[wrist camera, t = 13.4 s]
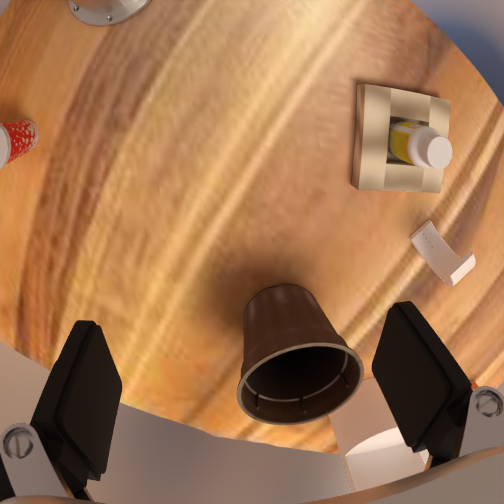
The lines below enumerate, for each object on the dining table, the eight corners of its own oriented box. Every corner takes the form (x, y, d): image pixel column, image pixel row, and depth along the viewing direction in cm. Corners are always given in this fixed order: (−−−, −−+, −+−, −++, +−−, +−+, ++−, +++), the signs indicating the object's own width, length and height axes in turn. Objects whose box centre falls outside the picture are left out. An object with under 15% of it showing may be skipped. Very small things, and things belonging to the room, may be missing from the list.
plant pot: (255, 256, 46) (271, 331, 32) (347, 286, 50) (388, 356, 36) (216, 337, 53) (219, 417, 38) (301, 357, 57) (322, 429, 42)
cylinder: (380, 417, 71) (415, 505, 47) (319, 425, 69) (346, 525, 44) (407, 373, 64) (458, 471, 39) (340, 381, 61) (382, 498, 37)
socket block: (357, 84, 36) (365, 84, 34) (440, 99, 37) (450, 100, 35) (351, 185, 43) (358, 190, 40) (431, 188, 44) (440, 193, 41)
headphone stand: (428, 219, 46) (473, 253, 36) (441, 243, 49) (482, 279, 38) (408, 237, 47) (450, 276, 37) (422, 260, 50) (461, 300, 39)
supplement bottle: (397, 164, 41) (436, 184, 33) (375, 136, 39) (414, 150, 31) (420, 140, 40) (462, 155, 31) (400, 112, 38) (442, 120, 29)
